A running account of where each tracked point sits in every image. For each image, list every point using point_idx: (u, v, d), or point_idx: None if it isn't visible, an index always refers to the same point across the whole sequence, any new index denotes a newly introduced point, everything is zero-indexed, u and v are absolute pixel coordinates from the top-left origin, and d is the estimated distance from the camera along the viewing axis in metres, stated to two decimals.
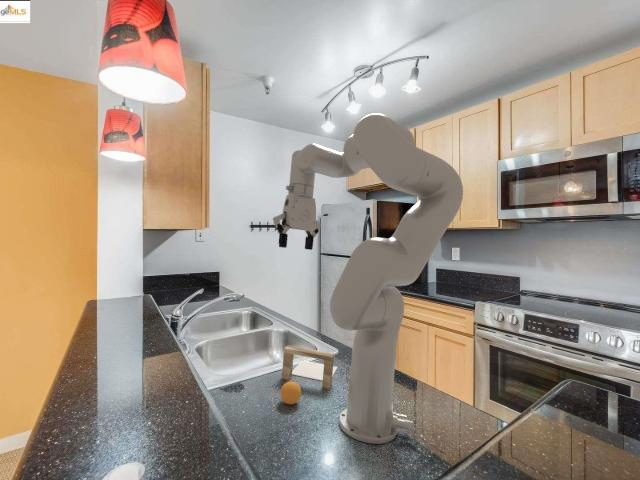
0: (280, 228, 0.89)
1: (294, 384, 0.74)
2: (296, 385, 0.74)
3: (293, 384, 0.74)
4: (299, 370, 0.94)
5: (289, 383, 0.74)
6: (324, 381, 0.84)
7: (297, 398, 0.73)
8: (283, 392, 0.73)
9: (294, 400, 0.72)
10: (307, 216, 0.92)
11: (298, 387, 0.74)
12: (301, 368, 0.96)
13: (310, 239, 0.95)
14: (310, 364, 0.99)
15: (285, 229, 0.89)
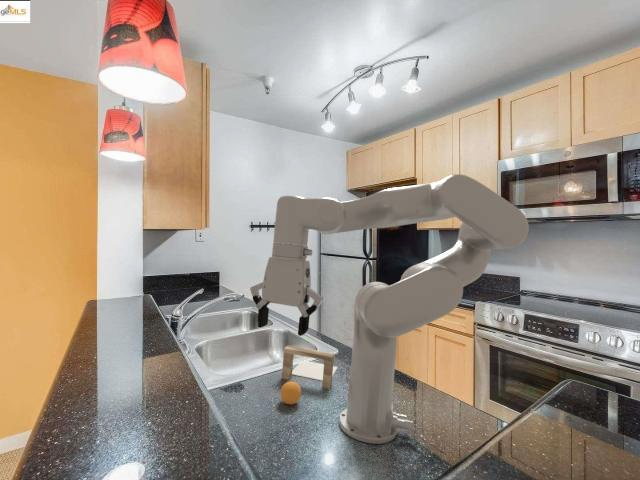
0: None
1: (294, 384, 0.74)
2: (296, 385, 0.74)
3: (293, 384, 0.74)
4: (299, 370, 0.94)
5: (289, 383, 0.74)
6: (324, 381, 0.84)
7: (297, 398, 0.73)
8: (283, 392, 0.73)
9: (294, 400, 0.72)
10: None
11: (298, 387, 0.74)
12: (301, 368, 0.96)
13: (267, 311, 0.70)
14: (310, 364, 0.99)
15: None
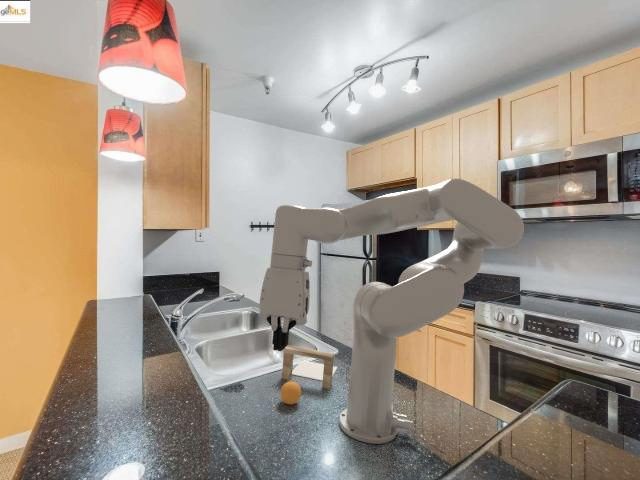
0: None
1: (294, 384, 0.74)
2: (296, 385, 0.74)
3: (293, 384, 0.74)
4: (299, 370, 0.94)
5: (289, 383, 0.74)
6: (324, 381, 0.84)
7: (297, 398, 0.73)
8: (283, 392, 0.73)
9: (294, 400, 0.72)
10: None
11: (298, 387, 0.74)
12: (301, 368, 0.96)
13: None
14: (310, 364, 0.99)
15: None
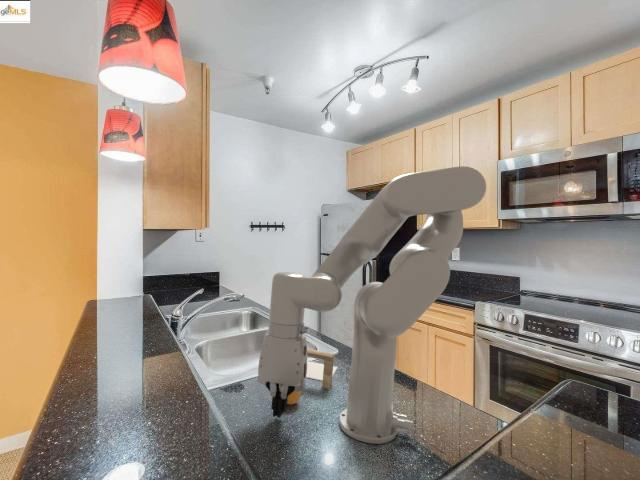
0: None
1: None
2: None
3: None
4: None
5: None
6: (324, 381, 0.84)
7: (297, 398, 0.73)
8: None
9: (294, 400, 0.72)
10: None
11: None
12: None
13: None
14: (310, 364, 0.99)
15: None
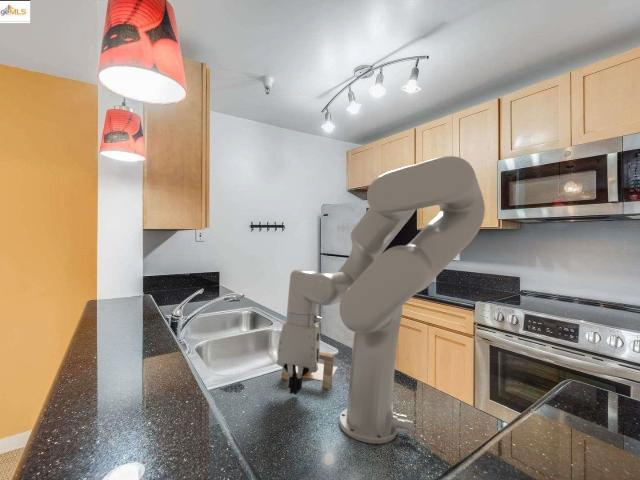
0: None
1: None
2: None
3: None
4: None
5: None
6: (324, 381, 0.84)
7: None
8: None
9: None
10: None
11: None
12: None
13: None
14: None
15: None
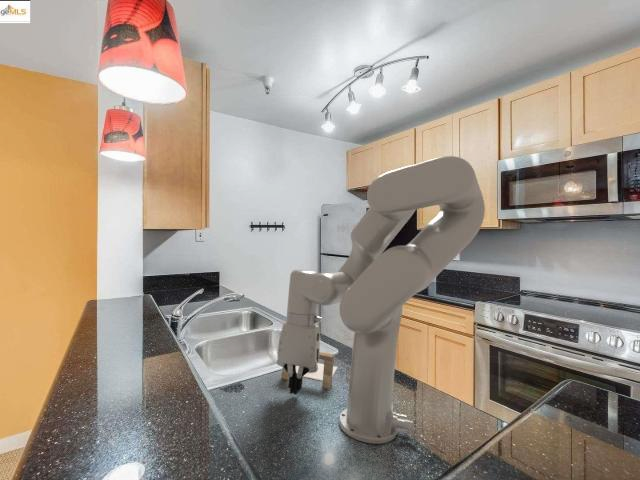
0: None
1: None
2: None
3: None
4: None
5: None
6: (324, 381, 0.84)
7: None
8: None
9: None
10: None
11: None
12: None
13: None
14: None
15: None
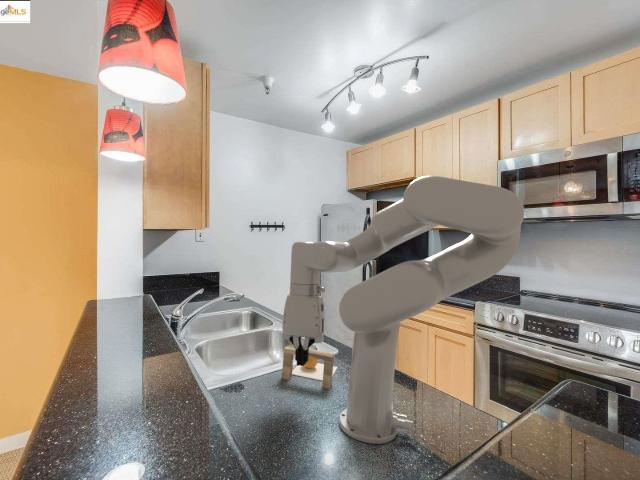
0: None
1: None
2: None
3: None
4: (299, 370, 0.94)
5: None
6: (324, 381, 0.84)
7: None
8: None
9: None
10: None
11: None
12: (301, 368, 0.96)
13: None
14: None
15: None
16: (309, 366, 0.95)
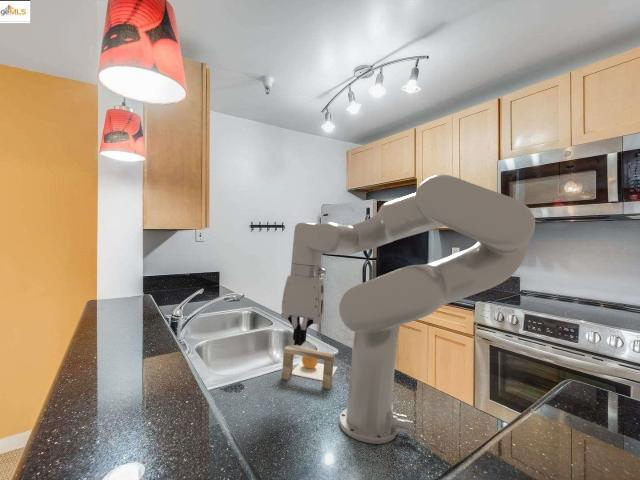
0: None
1: None
2: None
3: None
4: (299, 370, 0.94)
5: None
6: (324, 381, 0.84)
7: None
8: None
9: None
10: None
11: None
12: (301, 368, 0.96)
13: None
14: None
15: None
16: (309, 366, 0.95)
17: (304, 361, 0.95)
